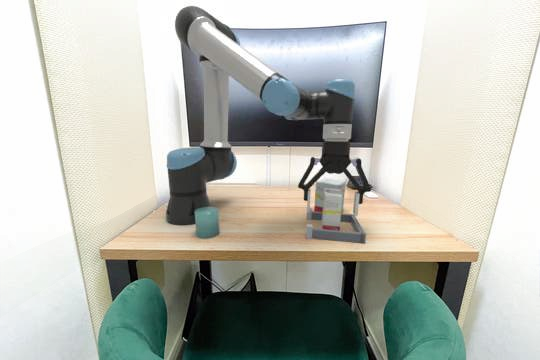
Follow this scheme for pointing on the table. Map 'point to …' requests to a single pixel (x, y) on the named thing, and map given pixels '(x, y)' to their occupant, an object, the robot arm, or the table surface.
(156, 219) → the table surface
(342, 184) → the ink box
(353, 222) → the u-shaped handle bar
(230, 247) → the table surface
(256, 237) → the table surface
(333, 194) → the ink box
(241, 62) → the robot arm
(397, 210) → the table surface
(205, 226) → the teal rounded cylinder
